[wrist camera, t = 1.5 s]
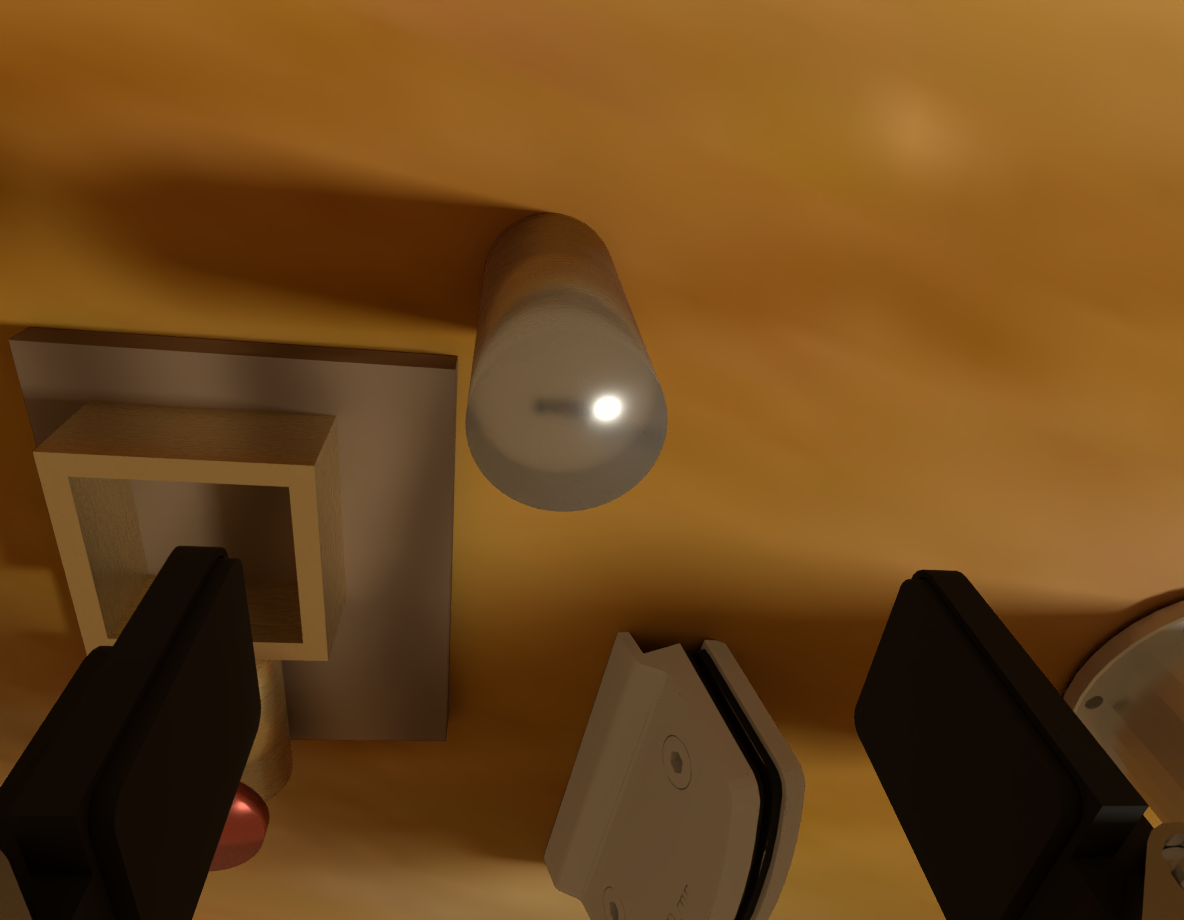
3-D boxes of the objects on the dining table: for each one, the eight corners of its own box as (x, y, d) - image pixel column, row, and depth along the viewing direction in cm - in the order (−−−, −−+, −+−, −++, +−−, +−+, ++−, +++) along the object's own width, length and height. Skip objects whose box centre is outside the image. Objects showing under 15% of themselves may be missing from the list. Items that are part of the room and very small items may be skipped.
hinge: (619, 625, 35) (746, 822, 27) (708, 614, 37) (847, 794, 29) (541, 862, 42) (622, 1067, 35) (618, 841, 45) (710, 1030, 37)
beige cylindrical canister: (621, 219, 26) (682, 339, 16) (606, 344, 28) (651, 515, 19) (486, 207, 25) (468, 323, 16) (481, 336, 28) (462, 507, 18)
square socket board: (336, 415, 27) (287, 523, 22) (354, 740, 35) (322, 883, 29) (88, 401, 26) (-32, 510, 21) (162, 738, 34) (90, 886, 28)
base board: (457, 356, 28) (455, 369, 27) (448, 720, 37) (445, 740, 36) (28, 327, 26) (8, 340, 25) (125, 716, 35) (113, 738, 34)
